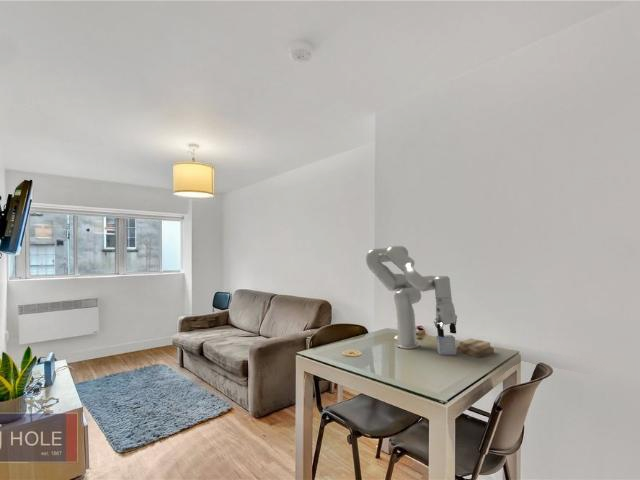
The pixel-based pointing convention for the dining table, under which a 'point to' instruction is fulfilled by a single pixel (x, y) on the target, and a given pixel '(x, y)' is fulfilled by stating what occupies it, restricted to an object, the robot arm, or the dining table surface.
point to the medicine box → (446, 345)
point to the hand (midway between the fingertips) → (447, 334)
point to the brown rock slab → (475, 348)
